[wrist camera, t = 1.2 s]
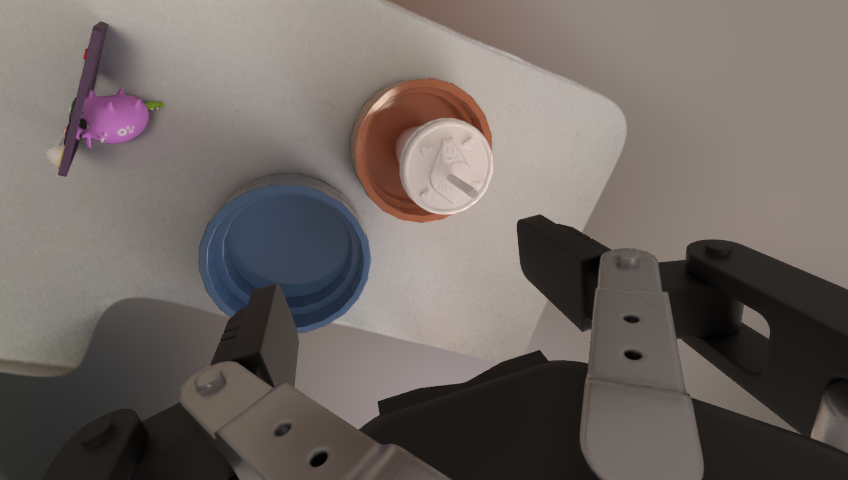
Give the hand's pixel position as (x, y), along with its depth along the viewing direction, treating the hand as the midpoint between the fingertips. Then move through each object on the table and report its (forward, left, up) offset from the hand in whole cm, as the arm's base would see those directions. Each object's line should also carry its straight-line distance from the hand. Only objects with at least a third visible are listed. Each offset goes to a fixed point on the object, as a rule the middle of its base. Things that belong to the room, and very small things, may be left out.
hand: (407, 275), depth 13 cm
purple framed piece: (-15, +6, -23) cm, 29 cm away
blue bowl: (-6, -7, -23) cm, 25 cm away
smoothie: (+6, 0, -23) cm, 24 cm away
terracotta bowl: (+6, 0, -23) cm, 24 cm away
